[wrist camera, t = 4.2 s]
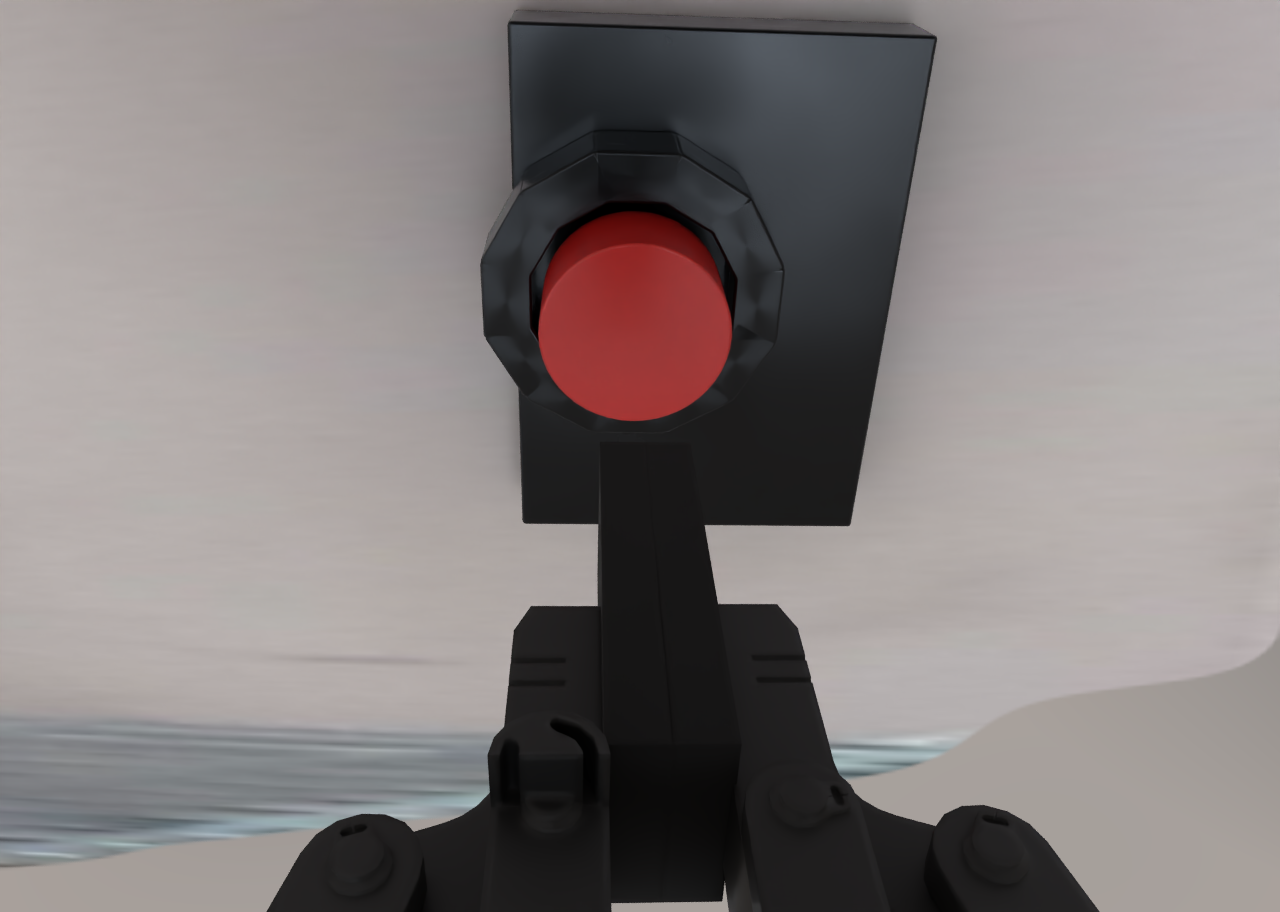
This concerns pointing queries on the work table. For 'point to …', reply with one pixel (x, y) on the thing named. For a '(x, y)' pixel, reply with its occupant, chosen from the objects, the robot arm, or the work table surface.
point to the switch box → (716, 236)
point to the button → (634, 317)
